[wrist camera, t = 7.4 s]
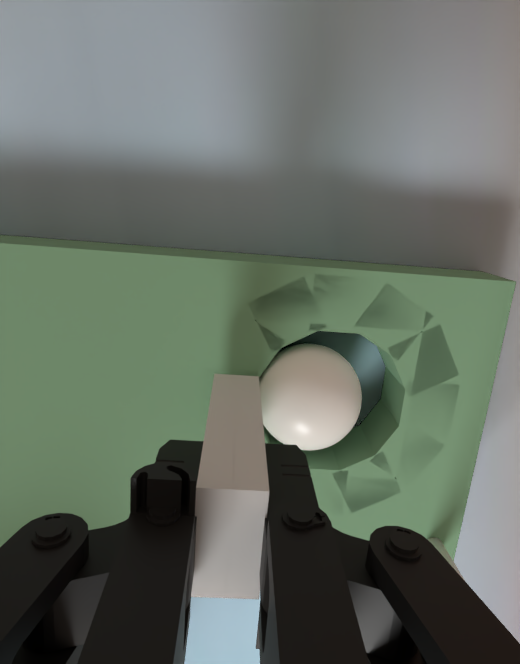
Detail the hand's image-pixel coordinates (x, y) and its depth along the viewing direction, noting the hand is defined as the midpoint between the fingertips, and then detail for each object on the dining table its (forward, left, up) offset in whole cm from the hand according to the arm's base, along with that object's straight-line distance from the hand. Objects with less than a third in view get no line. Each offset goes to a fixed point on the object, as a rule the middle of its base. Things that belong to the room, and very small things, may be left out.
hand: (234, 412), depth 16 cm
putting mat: (-1, +5, -4) cm, 6 cm away
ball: (0, -3, -2) cm, 3 cm away
